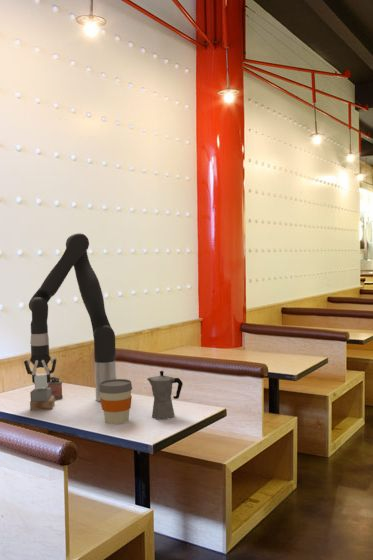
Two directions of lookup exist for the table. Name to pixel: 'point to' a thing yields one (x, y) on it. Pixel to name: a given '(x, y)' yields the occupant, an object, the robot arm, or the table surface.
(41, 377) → the top block
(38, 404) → the walnut block
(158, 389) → the coffeepot
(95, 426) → the table surface
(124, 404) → the reusable coffee cup
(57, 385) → the lighter
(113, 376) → the robot arm
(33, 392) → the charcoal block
